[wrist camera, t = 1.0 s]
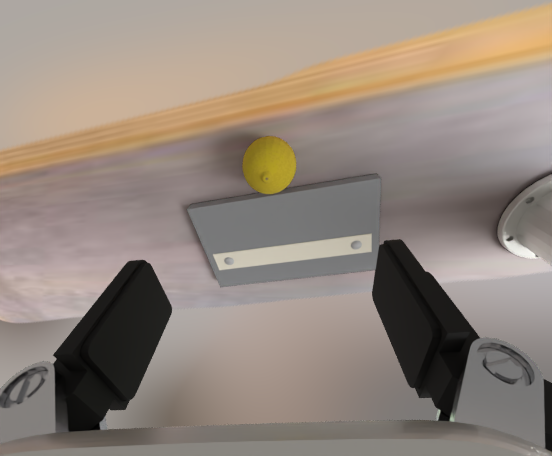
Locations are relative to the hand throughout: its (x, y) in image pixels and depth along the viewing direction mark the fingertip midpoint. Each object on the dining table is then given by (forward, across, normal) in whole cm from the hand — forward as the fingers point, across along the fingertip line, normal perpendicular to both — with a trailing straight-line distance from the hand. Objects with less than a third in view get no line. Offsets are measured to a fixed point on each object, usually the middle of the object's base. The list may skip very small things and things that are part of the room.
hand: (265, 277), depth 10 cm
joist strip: (+20, -1, +14) cm, 24 cm away
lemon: (+22, 0, +1) cm, 22 cm away
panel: (+21, -1, +12) cm, 25 cm away
